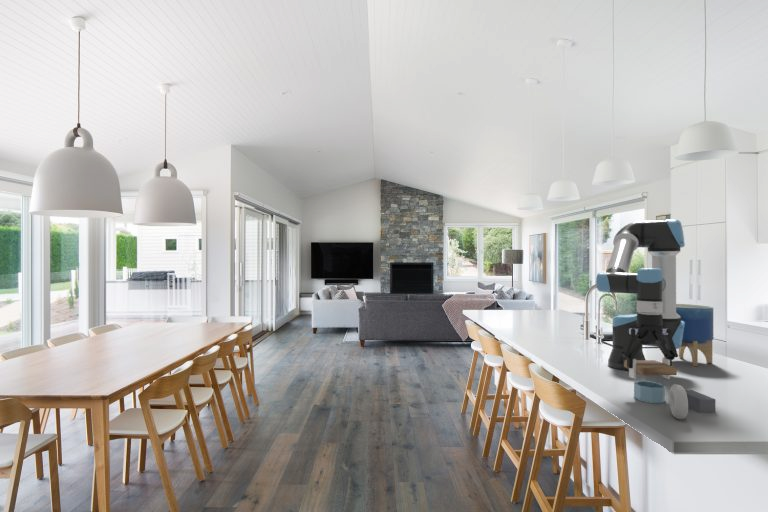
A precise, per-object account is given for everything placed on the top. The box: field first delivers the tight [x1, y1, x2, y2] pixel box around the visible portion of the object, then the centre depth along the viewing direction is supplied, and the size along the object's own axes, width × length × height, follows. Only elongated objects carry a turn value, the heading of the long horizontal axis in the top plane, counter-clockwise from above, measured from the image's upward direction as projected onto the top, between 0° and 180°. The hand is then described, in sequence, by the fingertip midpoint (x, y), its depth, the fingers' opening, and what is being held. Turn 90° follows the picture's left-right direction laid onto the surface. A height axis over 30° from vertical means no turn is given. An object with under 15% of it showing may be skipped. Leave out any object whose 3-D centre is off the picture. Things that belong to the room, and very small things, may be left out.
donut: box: [668, 383, 689, 420], centre depth 129 cm, size 10×3×10 cm, turn 158°
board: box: [624, 359, 678, 376], centre depth 147 cm, size 11×11×2 cm
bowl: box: [633, 380, 666, 404], centre depth 147 cm, size 8×8×5 cm
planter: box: [663, 303, 714, 367], centre depth 203 cm, size 19×19×26 cm
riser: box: [685, 389, 717, 413], centre depth 140 cm, size 10×5×4 cm, turn 2°
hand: (649, 377), depth 147 cm, fingers closed on board, 11 cm apart
